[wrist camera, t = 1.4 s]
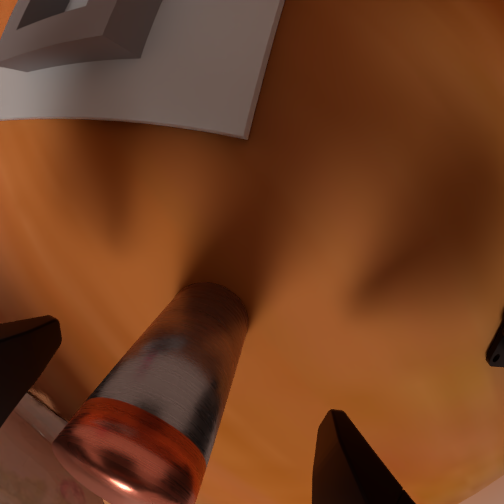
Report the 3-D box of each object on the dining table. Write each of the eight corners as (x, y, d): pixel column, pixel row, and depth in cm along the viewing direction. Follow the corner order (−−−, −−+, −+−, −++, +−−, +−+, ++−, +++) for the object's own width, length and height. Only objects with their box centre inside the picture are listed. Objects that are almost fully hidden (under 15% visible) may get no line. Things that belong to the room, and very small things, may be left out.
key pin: (256, 295, 11) (197, 493, 3) (239, 359, 12) (186, 532, 4) (176, 272, 11) (34, 413, 3) (168, 338, 12) (70, 481, 4)
